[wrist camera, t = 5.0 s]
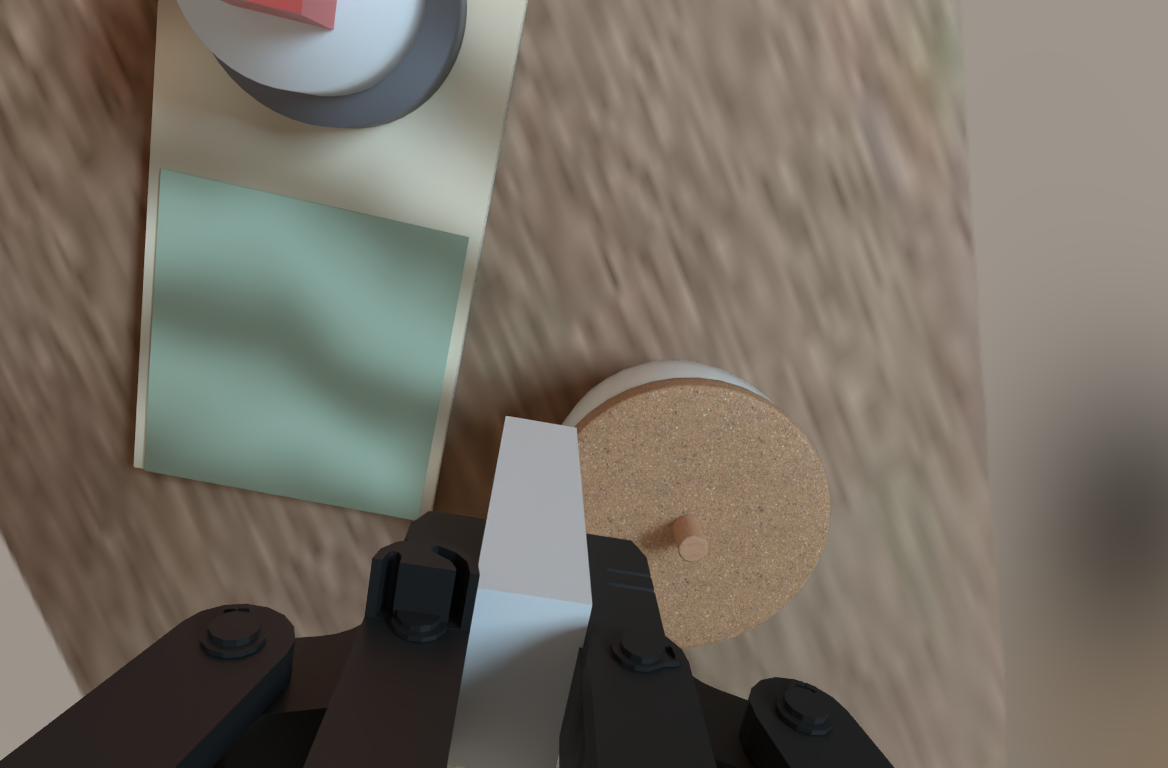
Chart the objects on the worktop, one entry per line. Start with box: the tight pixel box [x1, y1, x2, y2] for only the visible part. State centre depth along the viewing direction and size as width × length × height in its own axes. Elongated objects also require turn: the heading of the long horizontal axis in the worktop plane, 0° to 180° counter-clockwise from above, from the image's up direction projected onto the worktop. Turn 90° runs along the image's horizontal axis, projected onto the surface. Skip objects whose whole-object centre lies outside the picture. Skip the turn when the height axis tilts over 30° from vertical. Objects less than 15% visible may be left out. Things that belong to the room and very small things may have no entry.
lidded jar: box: [562, 360, 831, 647], centre depth 30 cm, size 11×11×9 cm
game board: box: [134, 0, 528, 520], centre depth 29 cm, size 25×13×4 cm, turn 167°
